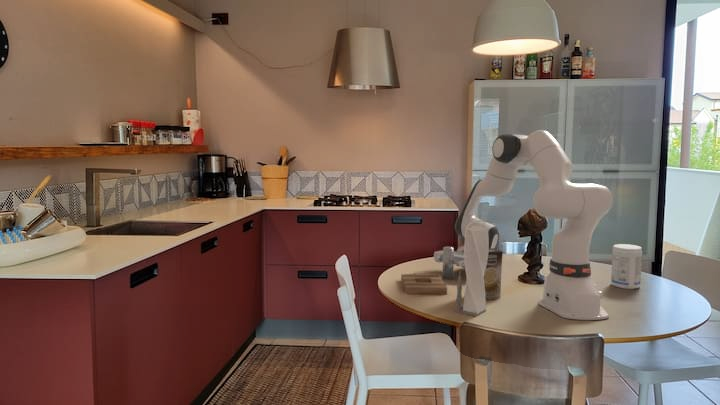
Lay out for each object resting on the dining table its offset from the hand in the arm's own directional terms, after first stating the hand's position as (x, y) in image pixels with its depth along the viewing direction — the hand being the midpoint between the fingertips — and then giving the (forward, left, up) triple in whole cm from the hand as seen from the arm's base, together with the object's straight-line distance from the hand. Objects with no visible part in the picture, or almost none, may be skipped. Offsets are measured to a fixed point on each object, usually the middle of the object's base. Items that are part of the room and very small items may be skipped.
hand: (447, 262), depth 199 cm
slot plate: (-12, +11, -7) cm, 17 cm away
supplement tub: (-10, -63, -7) cm, 64 cm away
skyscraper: (-39, -1, -7) cm, 39 cm away
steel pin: (0, 0, -7) cm, 7 cm away
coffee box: (-24, -8, -7) cm, 26 cm away
